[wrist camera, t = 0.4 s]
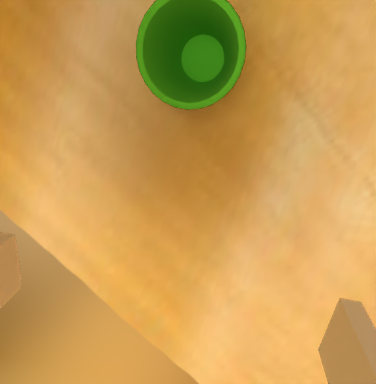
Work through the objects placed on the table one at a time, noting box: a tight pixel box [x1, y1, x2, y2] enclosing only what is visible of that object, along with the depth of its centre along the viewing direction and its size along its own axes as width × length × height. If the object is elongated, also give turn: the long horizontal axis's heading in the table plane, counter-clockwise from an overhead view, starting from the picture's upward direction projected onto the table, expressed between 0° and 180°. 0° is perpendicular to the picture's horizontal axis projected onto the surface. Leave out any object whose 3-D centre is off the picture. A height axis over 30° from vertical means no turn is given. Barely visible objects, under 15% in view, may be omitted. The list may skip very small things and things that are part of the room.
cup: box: [136, 0, 246, 110], centre depth 28 cm, size 9×9×11 cm
